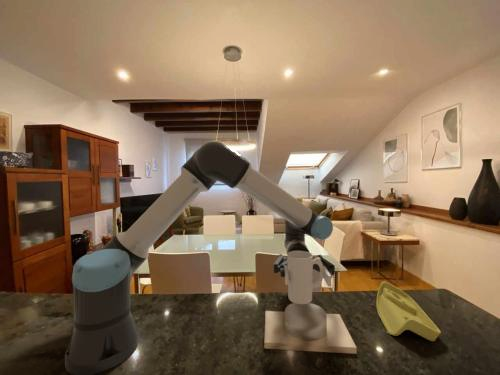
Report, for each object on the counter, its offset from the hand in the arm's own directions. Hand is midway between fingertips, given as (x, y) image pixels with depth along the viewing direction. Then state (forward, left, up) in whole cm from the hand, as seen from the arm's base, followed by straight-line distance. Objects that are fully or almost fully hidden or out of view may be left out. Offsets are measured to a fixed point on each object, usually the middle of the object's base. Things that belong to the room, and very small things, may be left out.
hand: (308, 280), depth 59 cm
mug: (0, +4, -7) cm, 8 cm away
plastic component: (+30, +12, -17) cm, 36 cm away
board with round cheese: (0, +4, -16) cm, 17 cm away
